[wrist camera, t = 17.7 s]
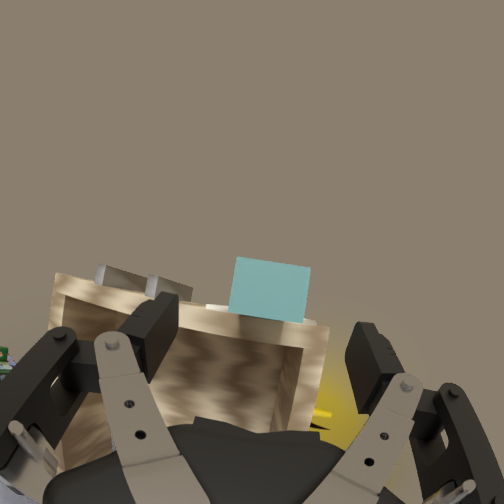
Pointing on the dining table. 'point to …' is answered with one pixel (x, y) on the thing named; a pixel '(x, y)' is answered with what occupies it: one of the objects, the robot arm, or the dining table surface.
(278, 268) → the bar
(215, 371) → the wooden stand
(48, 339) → the robot arm
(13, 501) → the dining table surface
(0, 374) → the chalk box
